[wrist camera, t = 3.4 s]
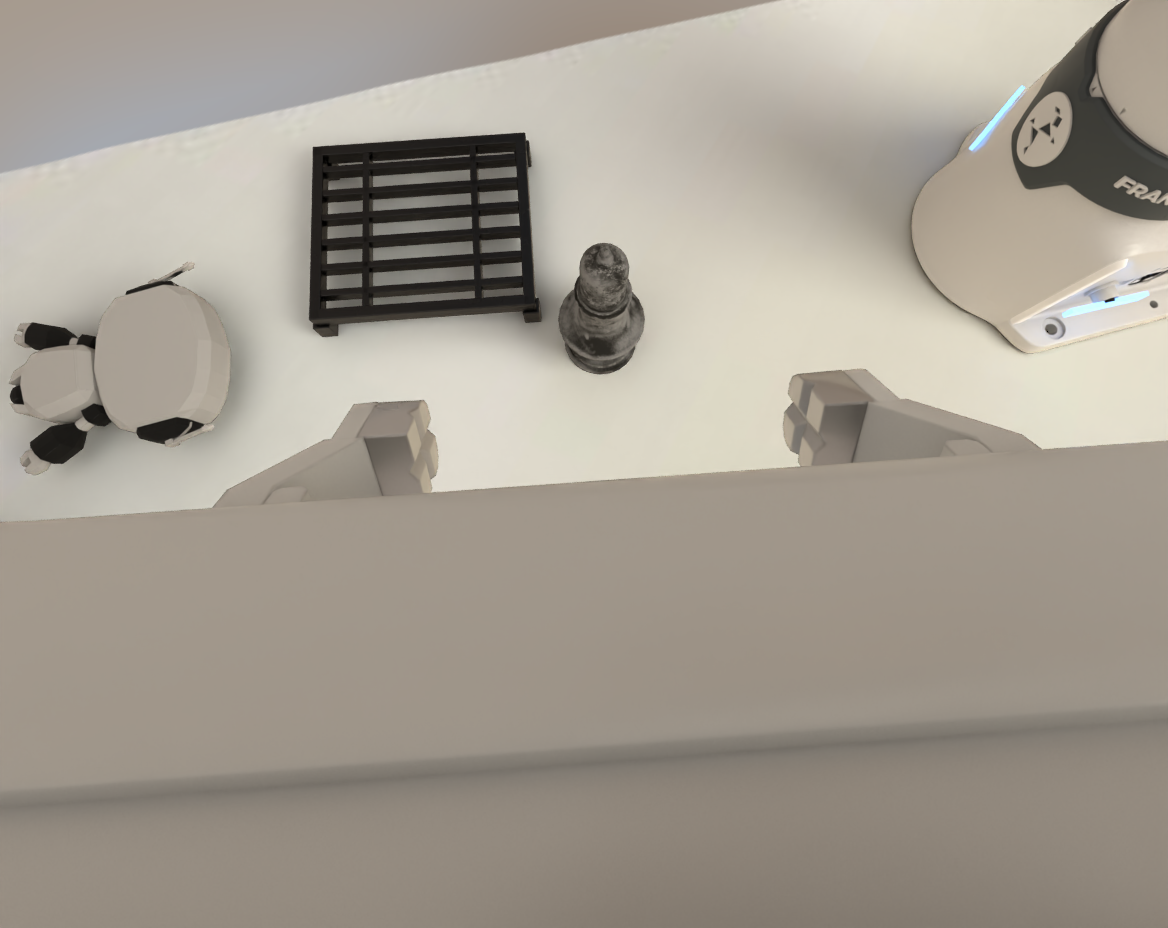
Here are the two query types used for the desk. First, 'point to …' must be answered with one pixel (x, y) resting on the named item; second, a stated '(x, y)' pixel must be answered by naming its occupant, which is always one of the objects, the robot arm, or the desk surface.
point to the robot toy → (125, 372)
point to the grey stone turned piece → (601, 312)
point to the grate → (411, 149)
